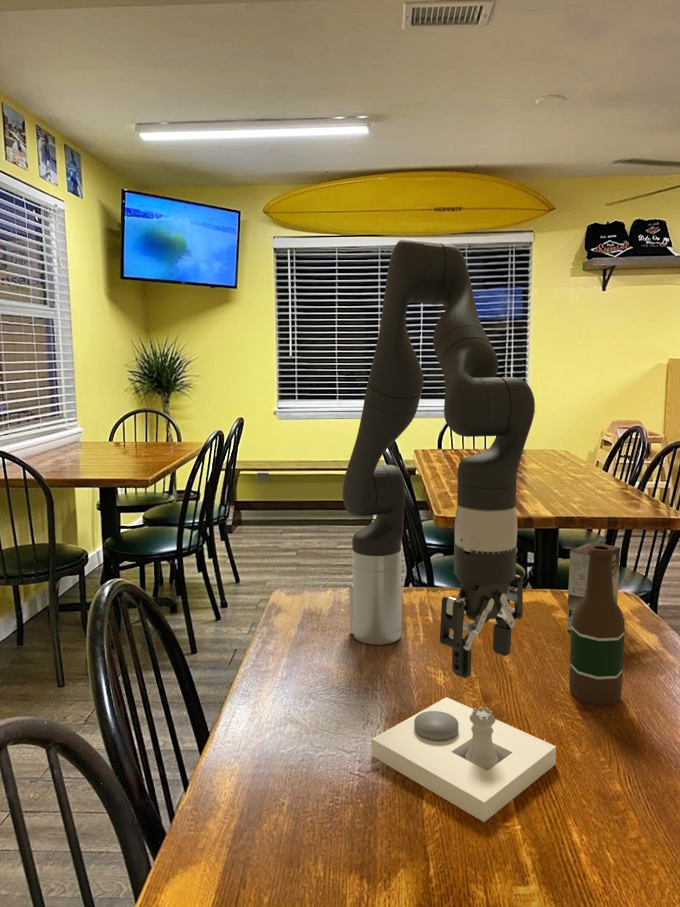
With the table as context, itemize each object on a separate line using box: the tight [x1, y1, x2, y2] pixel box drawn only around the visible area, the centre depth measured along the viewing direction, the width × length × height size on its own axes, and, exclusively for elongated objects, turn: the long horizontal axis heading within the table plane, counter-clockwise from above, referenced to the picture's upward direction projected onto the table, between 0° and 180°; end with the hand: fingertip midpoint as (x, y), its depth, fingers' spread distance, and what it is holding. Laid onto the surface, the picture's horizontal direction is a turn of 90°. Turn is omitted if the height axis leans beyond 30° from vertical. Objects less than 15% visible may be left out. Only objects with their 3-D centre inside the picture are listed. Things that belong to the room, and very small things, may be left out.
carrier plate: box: [371, 696, 557, 823], centre depth 88 cm, size 18×16×4 cm
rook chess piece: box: [465, 706, 499, 771], centre depth 86 cm, size 4×4×8 cm
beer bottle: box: [568, 545, 626, 707], centre depth 103 cm, size 8×8×24 cm
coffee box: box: [566, 541, 621, 632], centre depth 130 cm, size 9×6×16 cm
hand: (482, 664), depth 84 cm, fingers open, 8 cm apart
